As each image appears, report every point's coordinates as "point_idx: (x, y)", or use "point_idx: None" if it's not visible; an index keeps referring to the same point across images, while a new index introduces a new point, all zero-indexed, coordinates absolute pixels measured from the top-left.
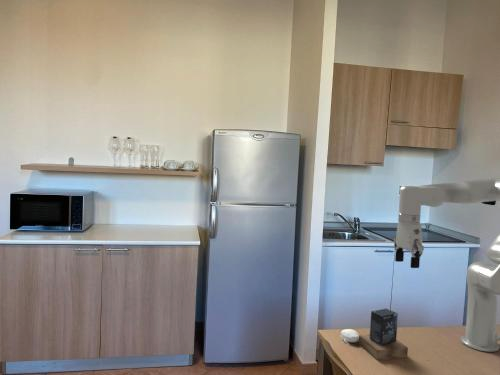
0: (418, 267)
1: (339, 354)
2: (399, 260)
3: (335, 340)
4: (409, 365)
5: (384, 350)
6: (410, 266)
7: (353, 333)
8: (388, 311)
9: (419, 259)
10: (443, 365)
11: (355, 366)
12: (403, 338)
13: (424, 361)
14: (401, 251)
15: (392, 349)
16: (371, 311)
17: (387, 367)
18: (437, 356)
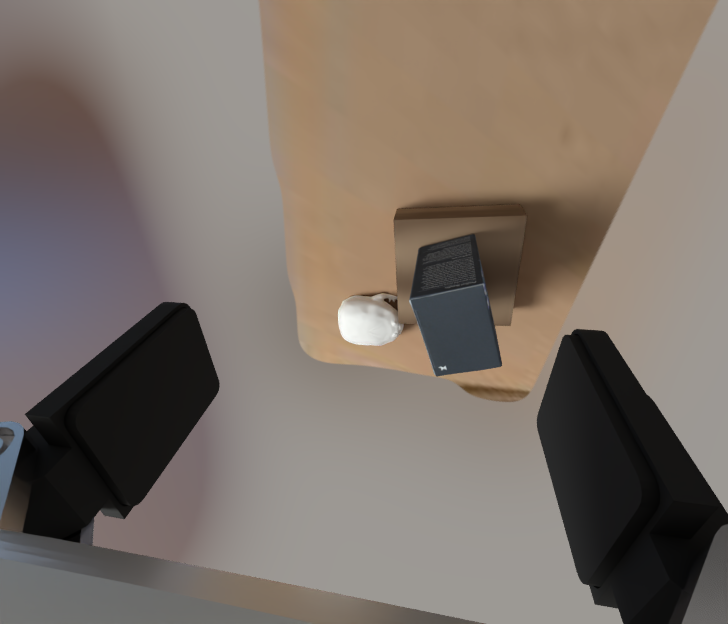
0: (599, 340)
1: (448, 377)
2: (203, 364)
3: (369, 351)
4: (571, 232)
5: (513, 302)
6: (539, 431)
7: (382, 330)
8: (454, 314)
9: (679, 450)
10: (629, 92)
11: (518, 372)
12: (373, 117)
13: (569, 156)
14: (81, 454)
15: (517, 275)
16: (436, 374)
17: (554, 303)
18: (557, 61)
